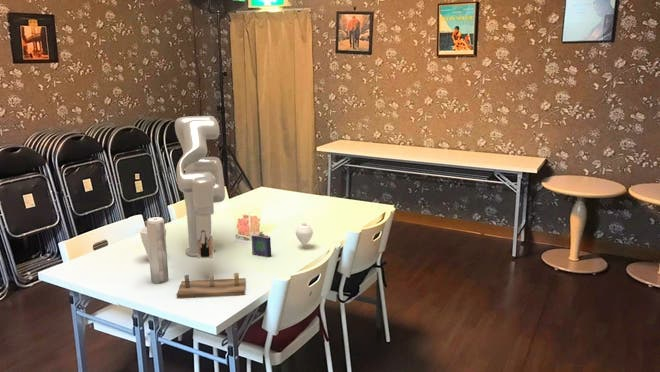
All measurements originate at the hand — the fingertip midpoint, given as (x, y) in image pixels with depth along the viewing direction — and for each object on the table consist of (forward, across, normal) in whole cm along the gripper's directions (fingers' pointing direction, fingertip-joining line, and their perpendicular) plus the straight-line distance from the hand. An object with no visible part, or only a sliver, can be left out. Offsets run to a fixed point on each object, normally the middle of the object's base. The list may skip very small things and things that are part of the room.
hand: (205, 253), depth 215 cm
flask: (+11, -20, +21) cm, 31 cm away
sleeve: (+1, 0, 0) cm, 1 cm away
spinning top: (+11, -27, +40) cm, 50 cm away
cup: (+11, -20, -24) cm, 33 cm away
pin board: (+9, +14, +3) cm, 17 cm away
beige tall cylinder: (+10, +3, -18) cm, 20 cm away
